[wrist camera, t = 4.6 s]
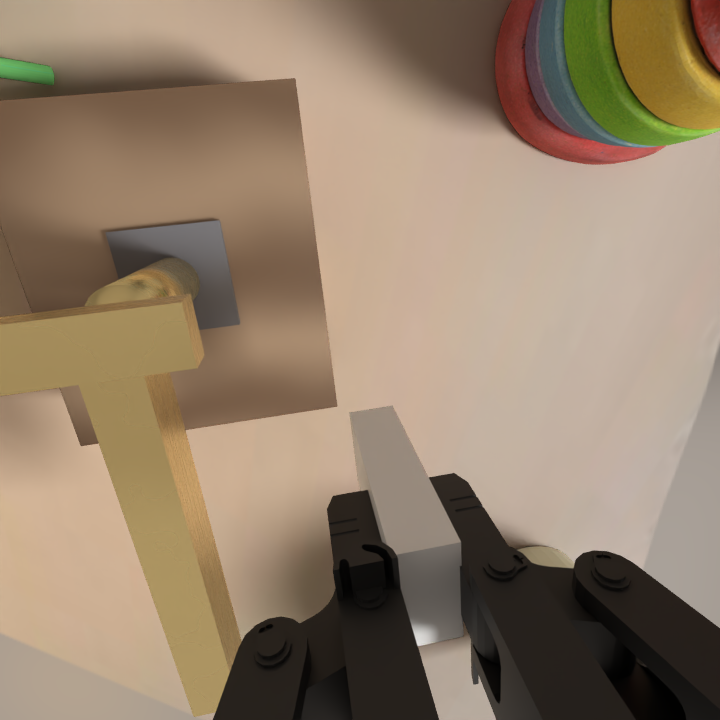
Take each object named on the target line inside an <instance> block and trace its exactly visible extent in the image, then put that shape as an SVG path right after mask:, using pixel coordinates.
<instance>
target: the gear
mask: <svg viewBox="0 0 720 720" xmlns="http://www.w3.org/2000/svg"><path fill="white" fill-rule="evenodd" d="M0 78H6V79H13V80H20V81H26V82H33V83H40V84H47V85H53V84H54V73H53V70H52V68H51V67H50V66H46V65H41V64H35V63H30V62H24V61H18V60H13V59H7V58H1V57H0Z"/></svg>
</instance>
